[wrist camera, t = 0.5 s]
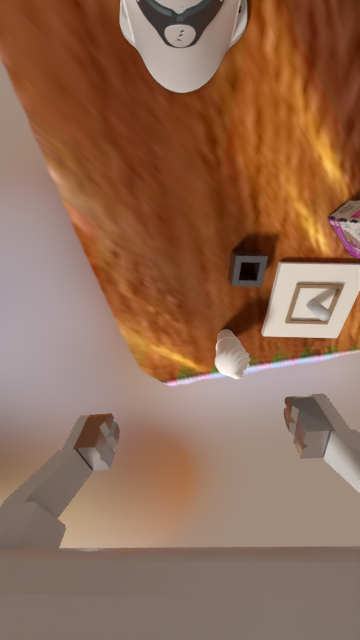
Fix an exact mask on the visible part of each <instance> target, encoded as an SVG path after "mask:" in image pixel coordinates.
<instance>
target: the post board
mask: <svg viewBox="0 0 360 640" xmlns="http://www.w3.org/2000/svg"><path fill="white" fill-rule="evenodd" d="M359 291H360V263H320V262H279V264H278V268H277V272H276V276H275V280H274V284H273V288H272V293H271V297H270V301H269V305H268V309H267V313H266V317H265V321H264V325H263V329H262V335H263V336H277V337H314V338H337V337H338V335H339V333H340V331H341V329H342V327H343V324H344V322H345V320H346V318H347V316H348V314H349V312H350V310H351V308H352V306H353V303H354V301H355V299H356V297H357V295H358V293H359Z"/></svg>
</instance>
